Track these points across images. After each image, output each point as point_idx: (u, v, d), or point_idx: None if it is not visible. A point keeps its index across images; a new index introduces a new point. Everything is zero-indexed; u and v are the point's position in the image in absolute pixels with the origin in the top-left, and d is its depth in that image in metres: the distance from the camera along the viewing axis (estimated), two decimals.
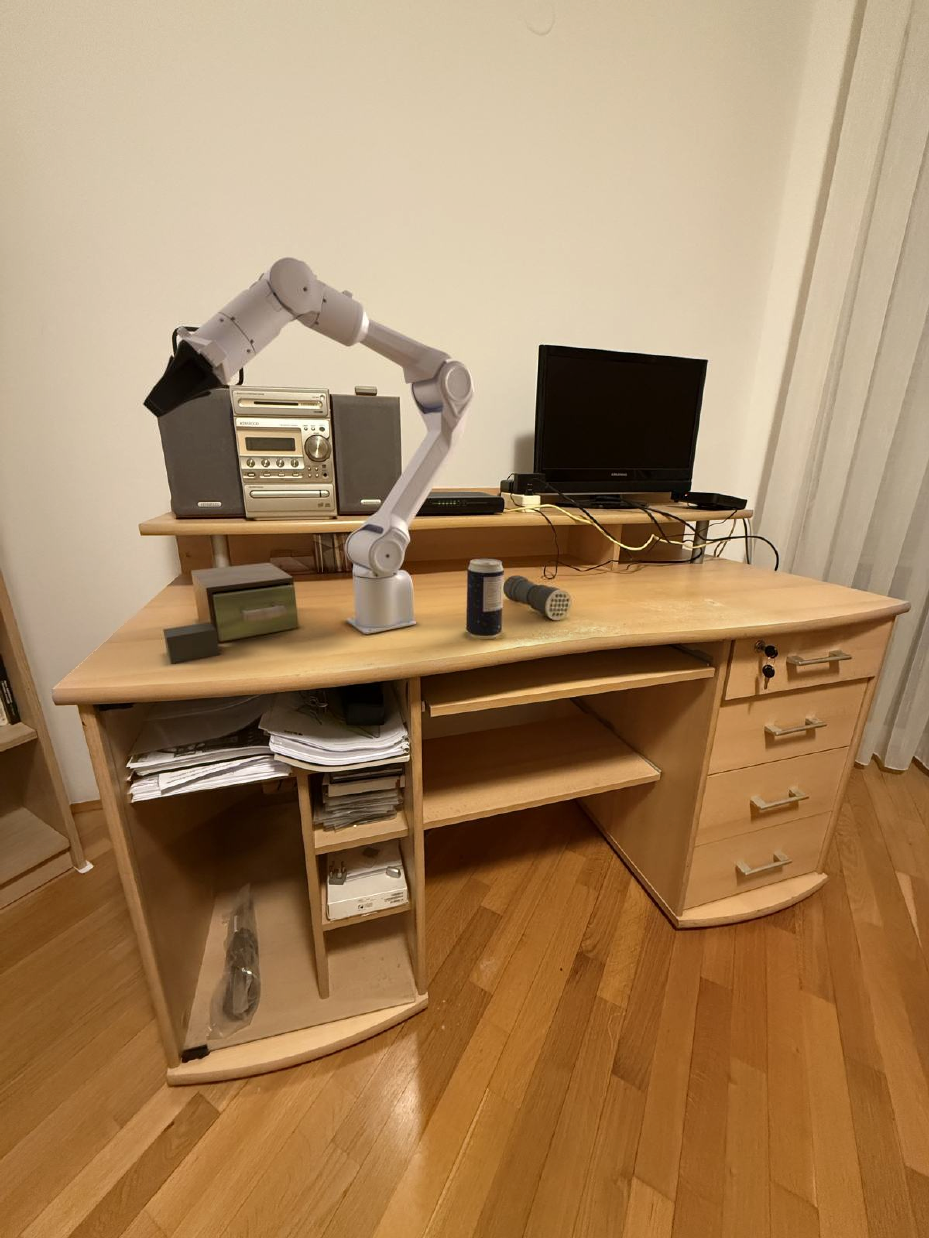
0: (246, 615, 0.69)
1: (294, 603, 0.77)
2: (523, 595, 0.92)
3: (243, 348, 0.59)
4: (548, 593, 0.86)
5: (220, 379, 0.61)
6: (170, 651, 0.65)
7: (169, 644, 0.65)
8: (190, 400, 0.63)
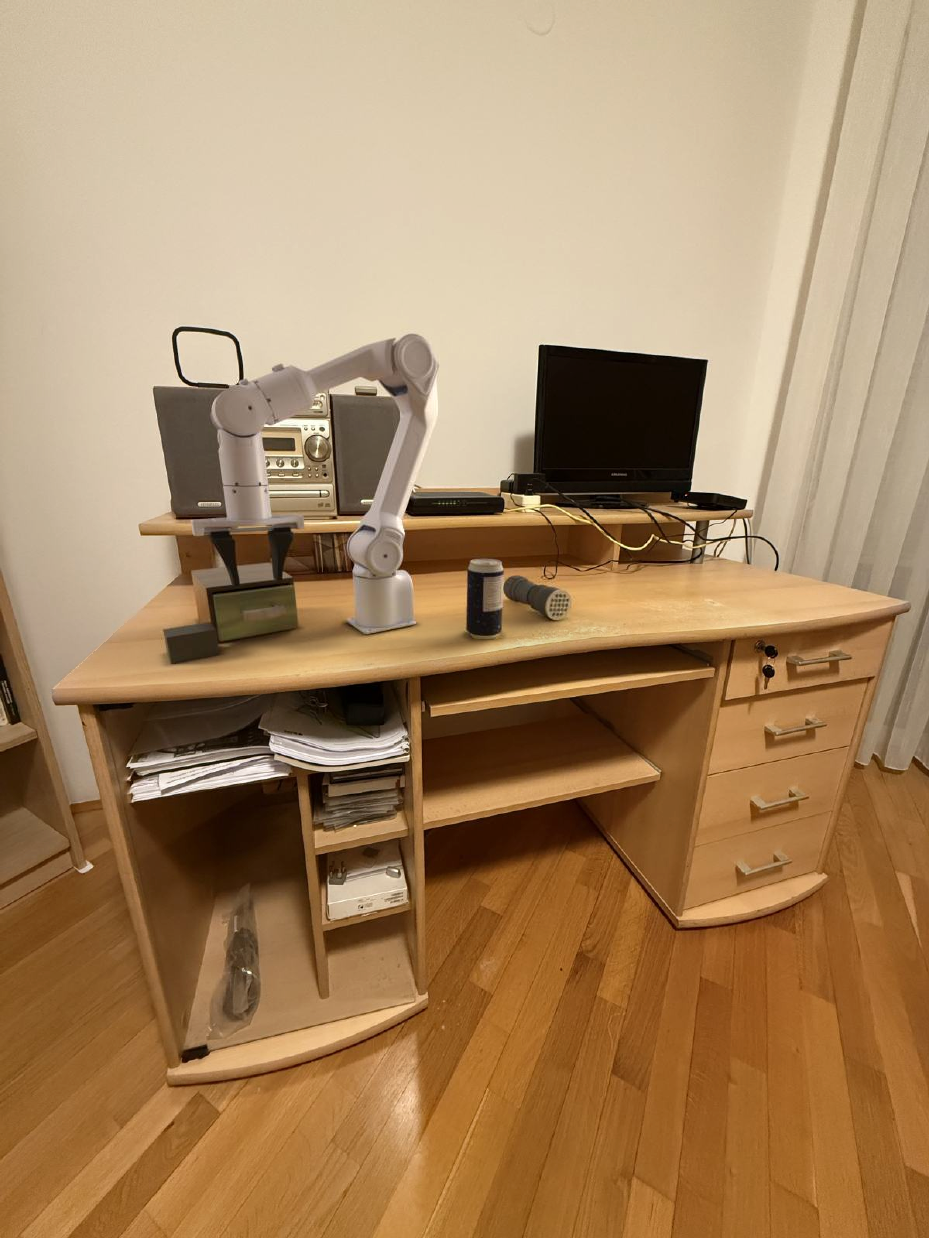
0: (246, 615, 0.69)
1: (294, 603, 0.77)
2: (523, 595, 0.92)
3: (229, 494, 0.65)
4: (548, 593, 0.86)
5: None
6: (170, 651, 0.65)
7: (169, 644, 0.65)
8: (281, 550, 0.70)
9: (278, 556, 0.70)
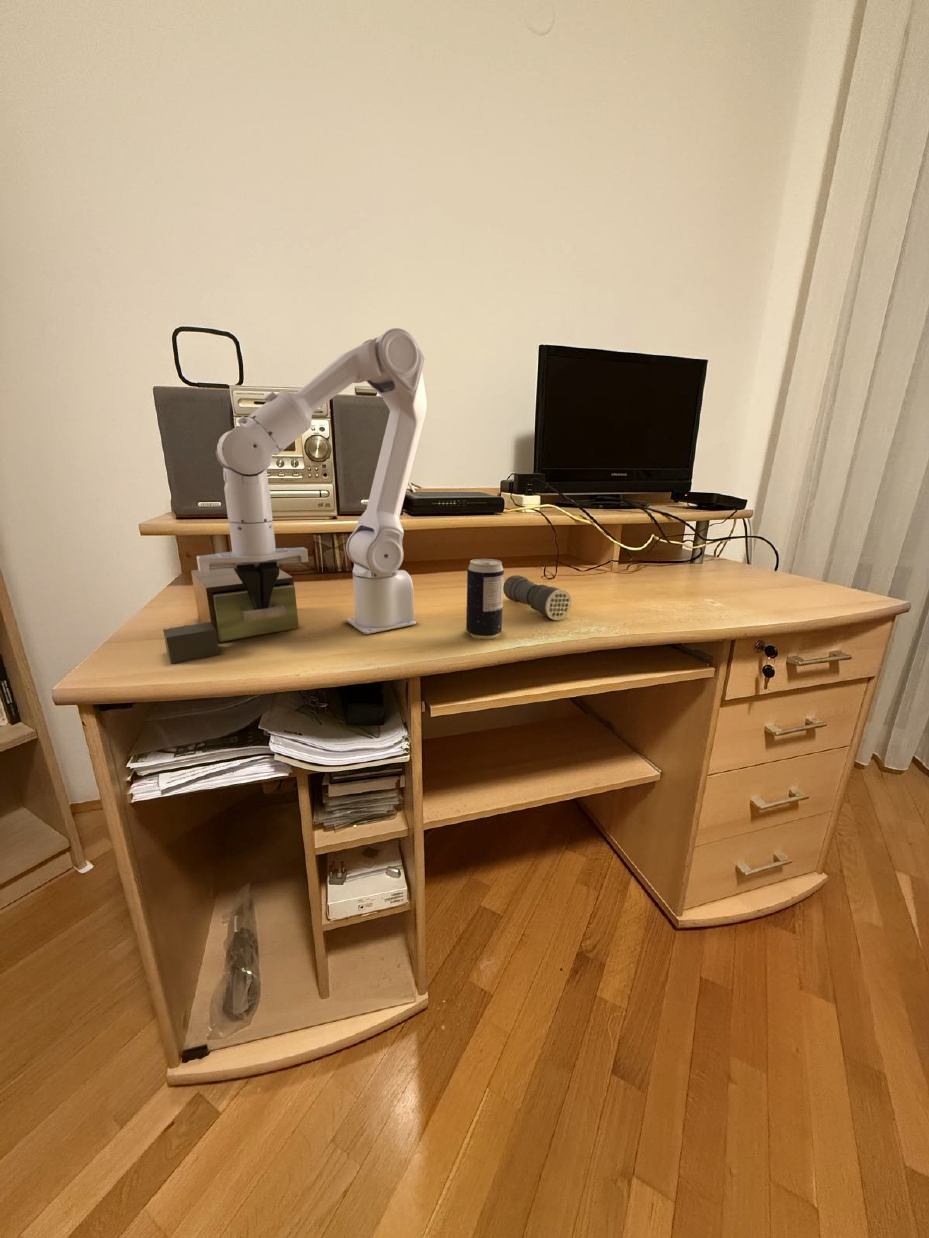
0: (246, 615, 0.68)
1: (294, 603, 0.77)
2: (523, 595, 0.92)
3: (235, 531, 0.66)
4: (548, 593, 0.86)
5: None
6: (170, 651, 0.65)
7: (169, 644, 0.65)
8: (267, 586, 0.70)
9: (264, 591, 0.70)
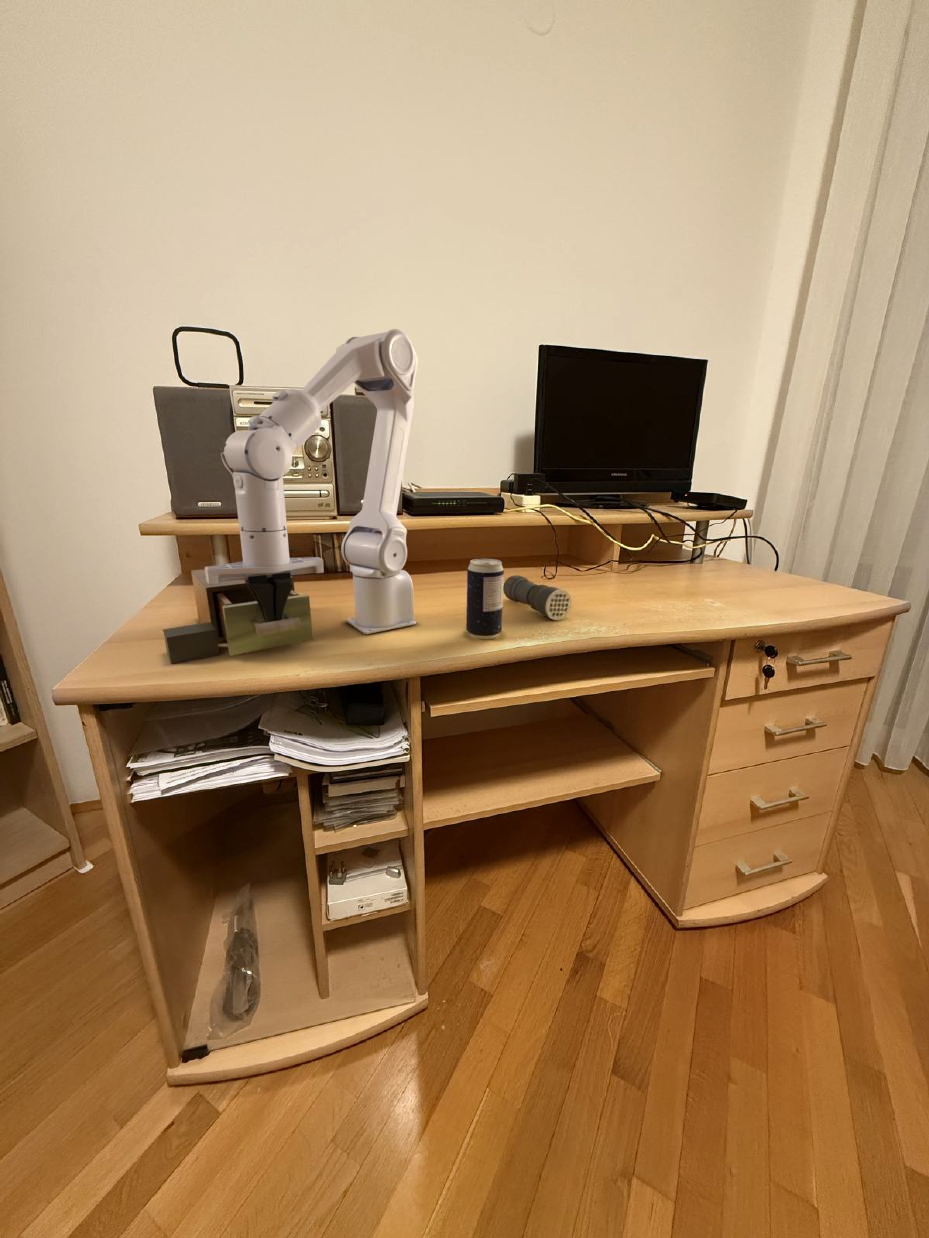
0: (259, 628, 0.63)
1: (309, 614, 0.72)
2: (523, 595, 0.92)
3: (246, 540, 0.61)
4: (548, 593, 0.86)
5: None
6: (170, 651, 0.65)
7: (169, 644, 0.65)
8: (280, 599, 0.65)
9: (276, 605, 0.65)
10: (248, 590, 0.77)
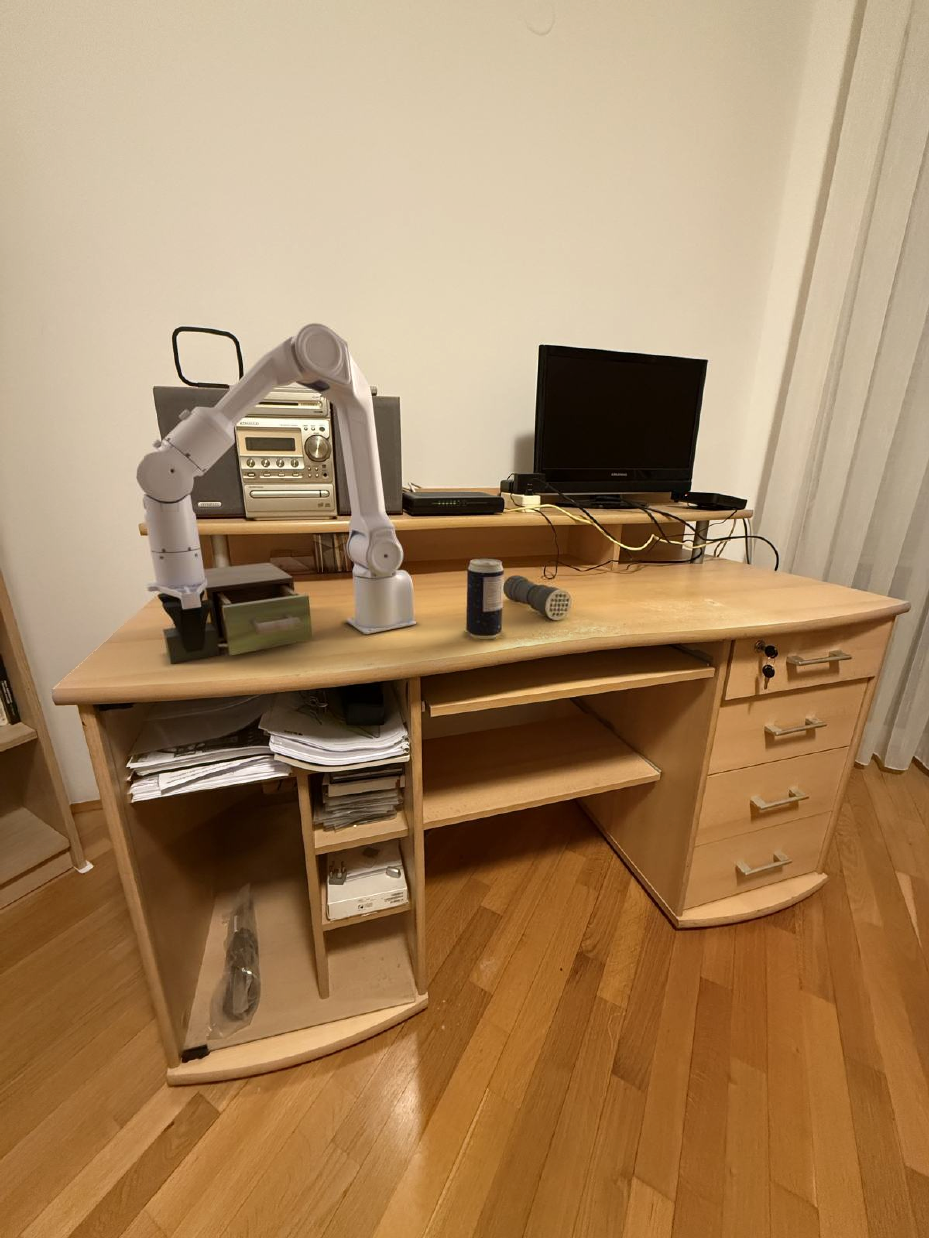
0: (258, 628, 0.64)
1: (308, 613, 0.72)
2: (523, 595, 0.92)
3: (192, 559, 0.64)
4: (548, 593, 0.86)
5: None
6: (170, 651, 0.65)
7: (169, 644, 0.65)
8: None
9: None
10: (248, 590, 0.77)
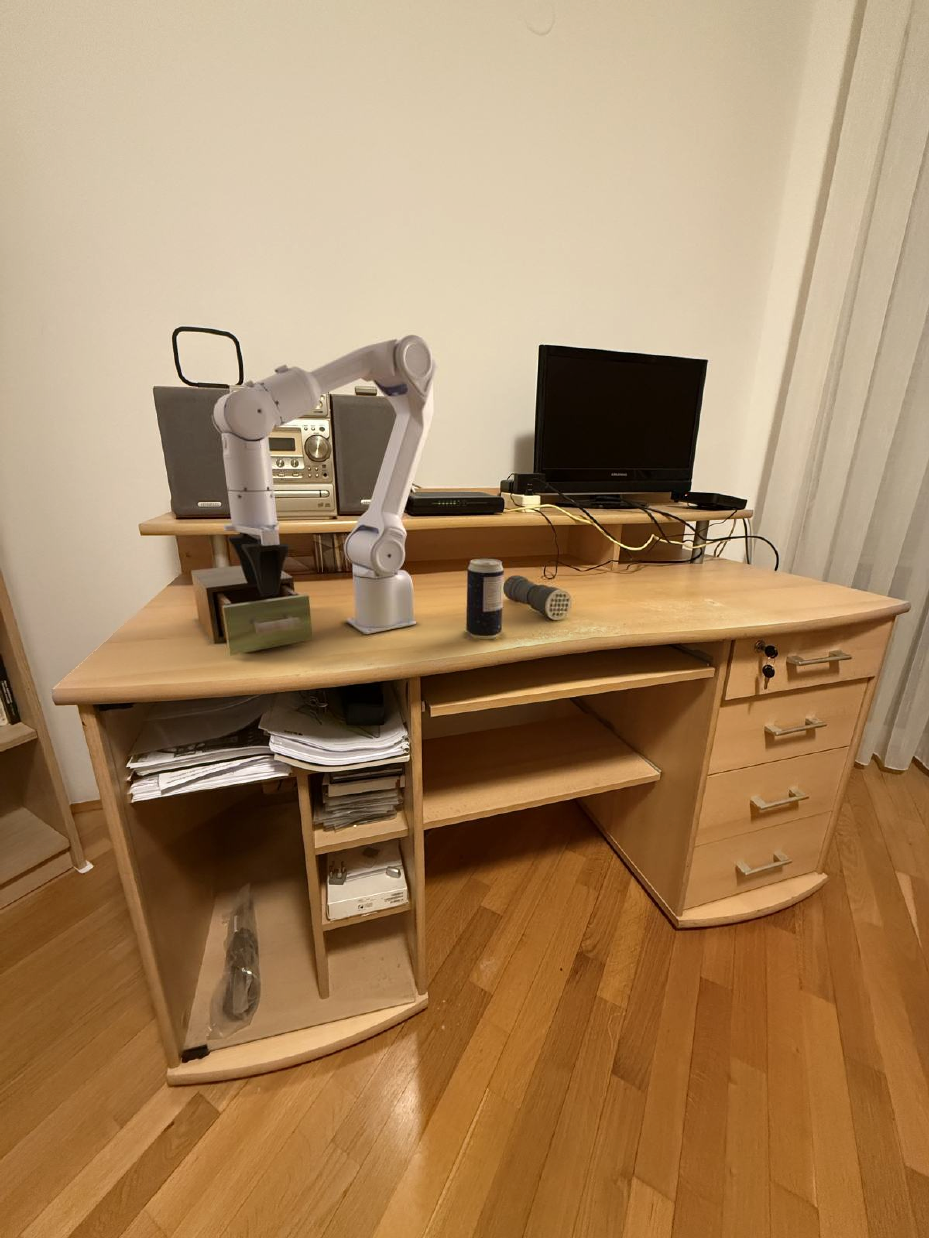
0: (258, 628, 0.64)
1: (308, 614, 0.72)
2: (523, 595, 0.92)
3: (267, 499, 0.64)
4: (548, 593, 0.86)
5: None
6: None
7: None
8: None
9: None
10: (248, 590, 0.77)
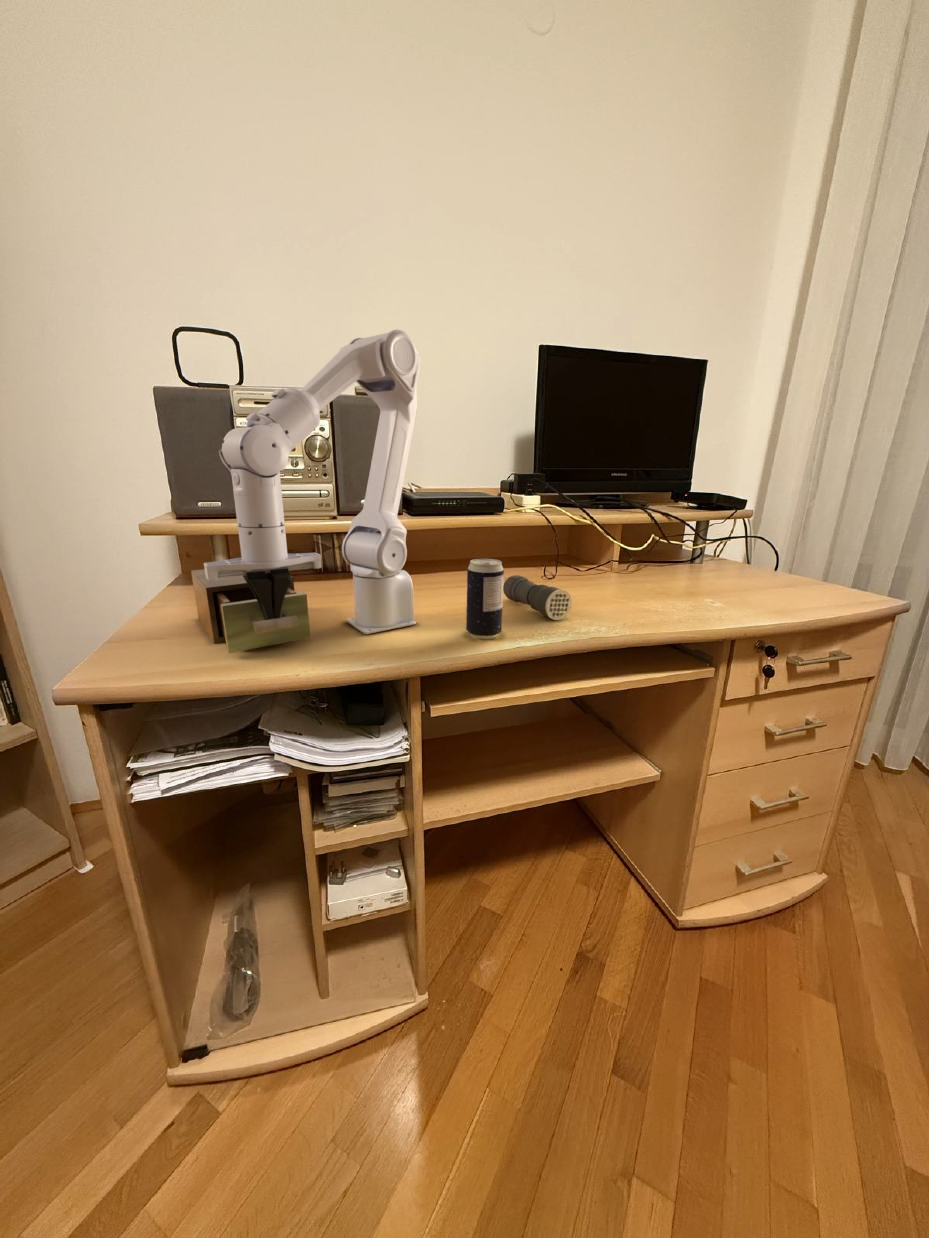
0: (256, 626, 0.64)
1: (306, 612, 0.72)
2: (523, 595, 0.92)
3: (245, 536, 0.62)
4: (548, 593, 0.86)
5: None
6: None
7: None
8: (278, 594, 0.66)
9: (275, 600, 0.66)
10: (246, 589, 0.78)
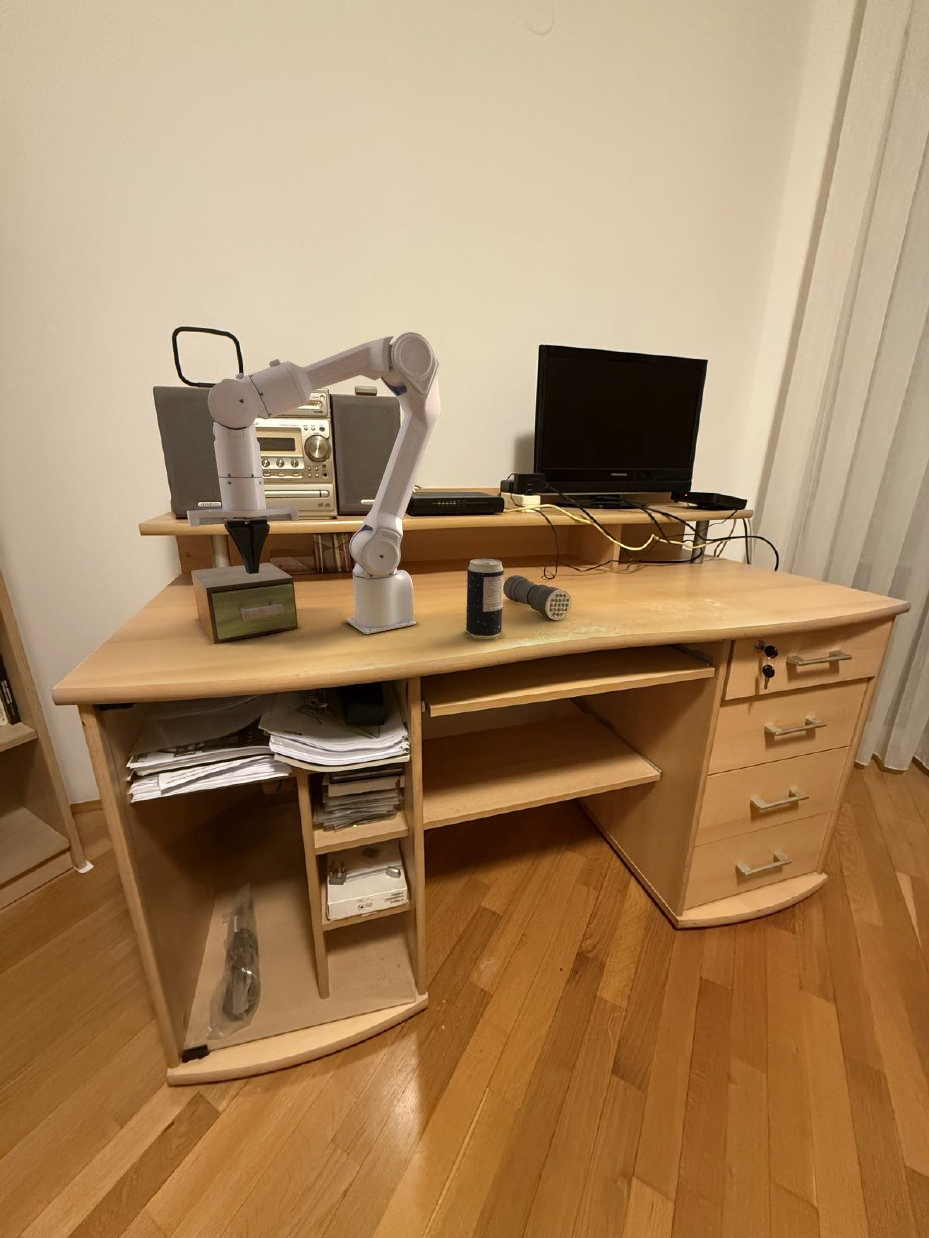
0: (244, 613, 0.69)
1: (292, 602, 0.77)
2: (523, 595, 0.92)
3: (225, 485, 0.66)
4: (548, 593, 0.86)
5: (250, 516, 0.68)
6: None
7: None
8: (257, 543, 0.70)
9: (254, 548, 0.70)
10: None
